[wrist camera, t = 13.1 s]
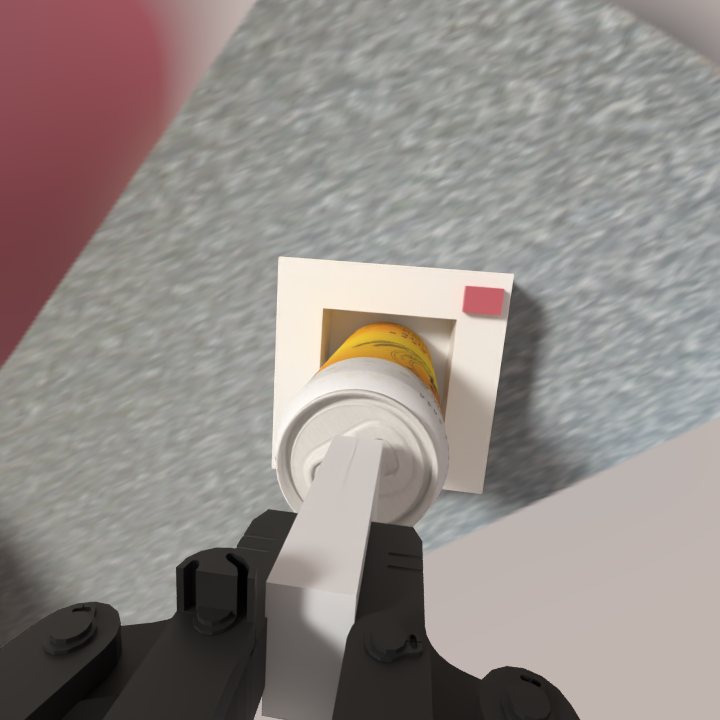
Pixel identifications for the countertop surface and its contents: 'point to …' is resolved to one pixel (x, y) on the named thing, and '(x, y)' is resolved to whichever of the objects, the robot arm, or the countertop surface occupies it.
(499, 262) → the countertop surface
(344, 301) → the socket block
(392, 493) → the beer can
